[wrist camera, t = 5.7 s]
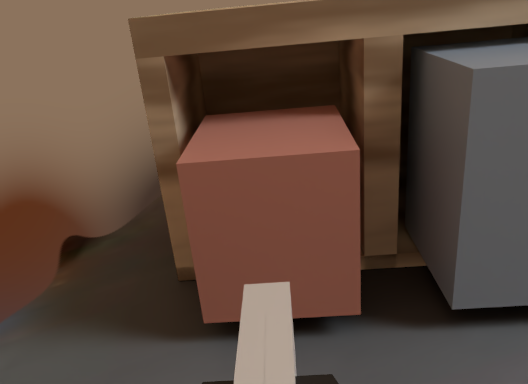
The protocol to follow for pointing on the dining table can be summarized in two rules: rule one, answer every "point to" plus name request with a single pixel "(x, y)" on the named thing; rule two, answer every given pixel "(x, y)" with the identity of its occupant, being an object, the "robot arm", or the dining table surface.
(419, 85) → the blue gray block
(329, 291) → the red cube
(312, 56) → the console
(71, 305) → the dining table surface
